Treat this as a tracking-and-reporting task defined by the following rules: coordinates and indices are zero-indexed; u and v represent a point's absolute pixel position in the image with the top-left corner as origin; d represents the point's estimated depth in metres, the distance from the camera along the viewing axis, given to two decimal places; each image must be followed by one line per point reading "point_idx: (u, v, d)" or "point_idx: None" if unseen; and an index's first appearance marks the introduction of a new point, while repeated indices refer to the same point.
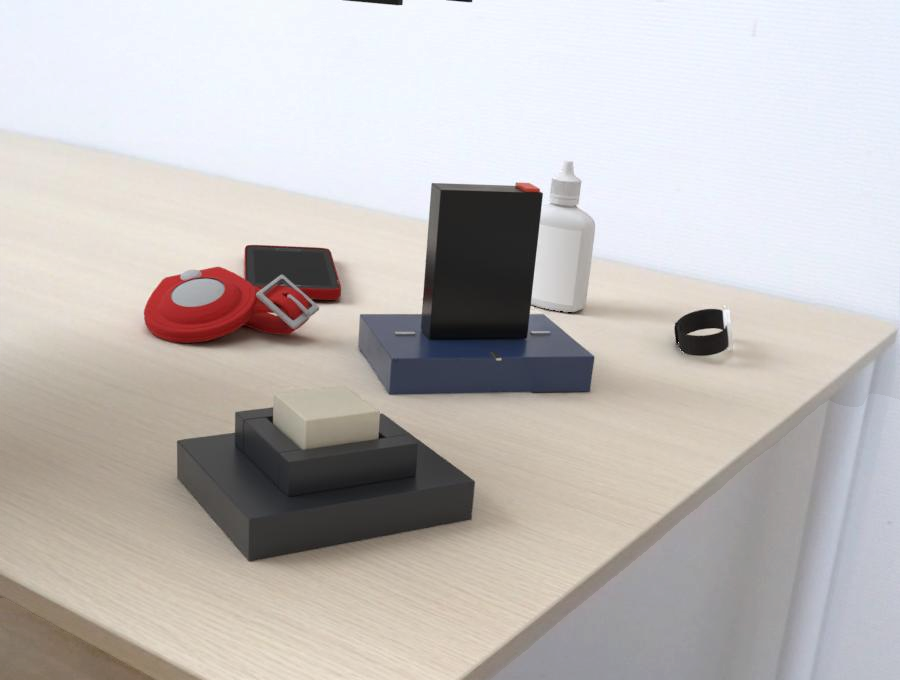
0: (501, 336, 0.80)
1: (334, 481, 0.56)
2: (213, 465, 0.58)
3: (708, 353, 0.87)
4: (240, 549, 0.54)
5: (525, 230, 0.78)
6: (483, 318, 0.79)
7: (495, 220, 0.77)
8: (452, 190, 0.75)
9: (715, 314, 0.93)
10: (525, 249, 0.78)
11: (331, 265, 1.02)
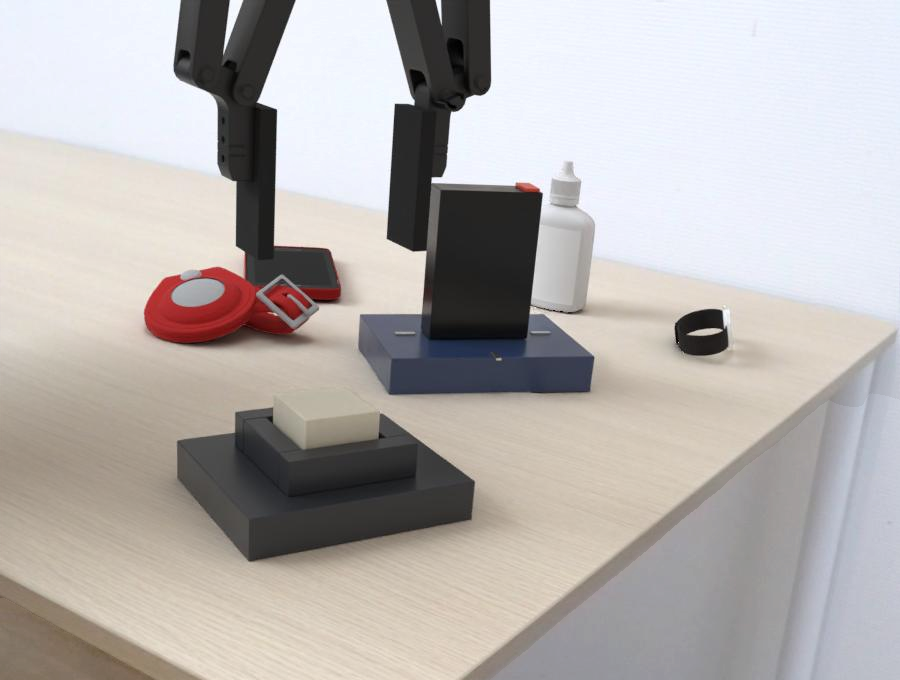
0: (501, 336, 0.80)
1: (334, 481, 0.56)
2: (213, 465, 0.58)
3: (708, 353, 0.87)
4: (240, 549, 0.54)
5: (525, 230, 0.78)
6: (483, 318, 0.79)
7: (495, 220, 0.77)
8: (452, 190, 0.75)
9: (715, 314, 0.93)
10: (525, 249, 0.78)
11: (331, 265, 1.02)
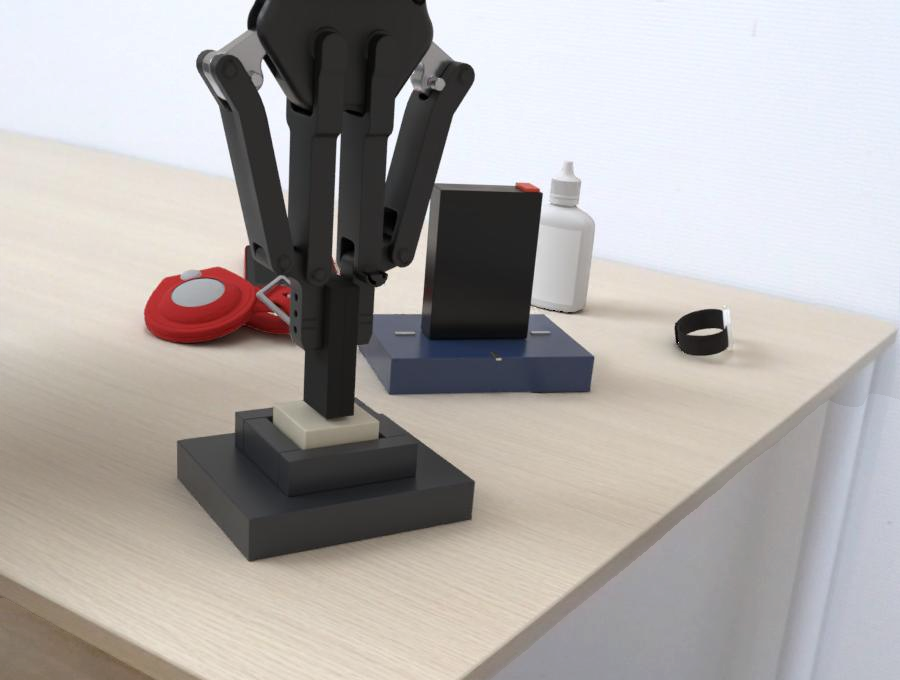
0: (501, 336, 0.80)
1: (334, 481, 0.56)
2: (213, 465, 0.58)
3: (708, 353, 0.87)
4: (240, 549, 0.54)
5: (525, 230, 0.78)
6: (483, 318, 0.79)
7: (495, 220, 0.77)
8: (452, 190, 0.75)
9: (715, 314, 0.93)
10: (525, 249, 0.78)
11: None
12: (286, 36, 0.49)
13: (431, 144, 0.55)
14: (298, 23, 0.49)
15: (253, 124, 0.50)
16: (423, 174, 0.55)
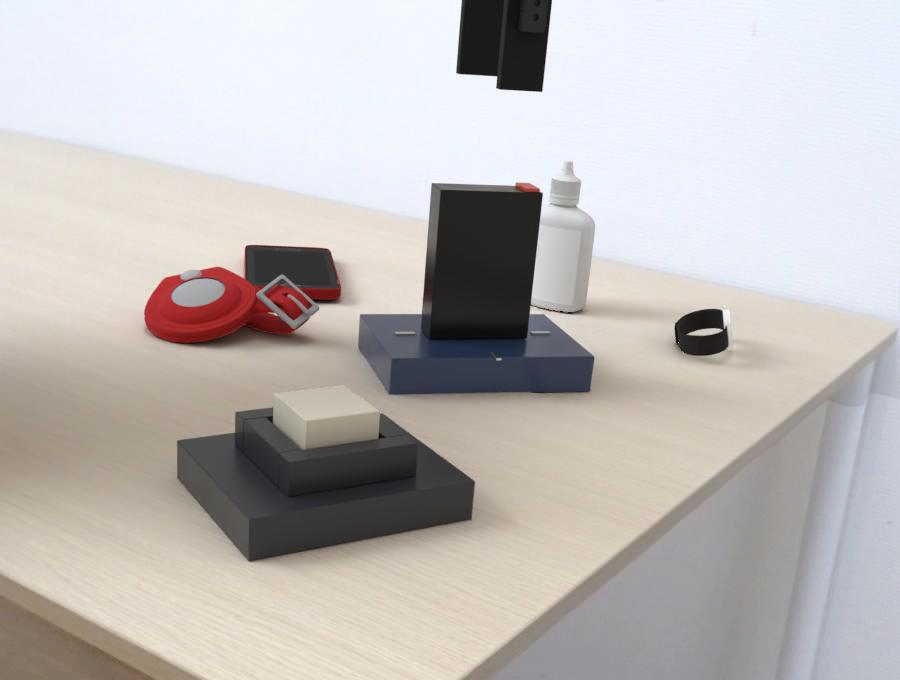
0: (501, 336, 0.80)
1: (334, 481, 0.56)
2: (213, 465, 0.58)
3: (708, 353, 0.87)
4: (240, 549, 0.54)
5: (525, 230, 0.78)
6: (483, 318, 0.79)
7: (495, 220, 0.77)
8: (452, 190, 0.75)
9: (715, 314, 0.93)
10: (525, 249, 0.78)
11: (331, 265, 1.02)
12: None
13: None
14: None
15: None
16: None
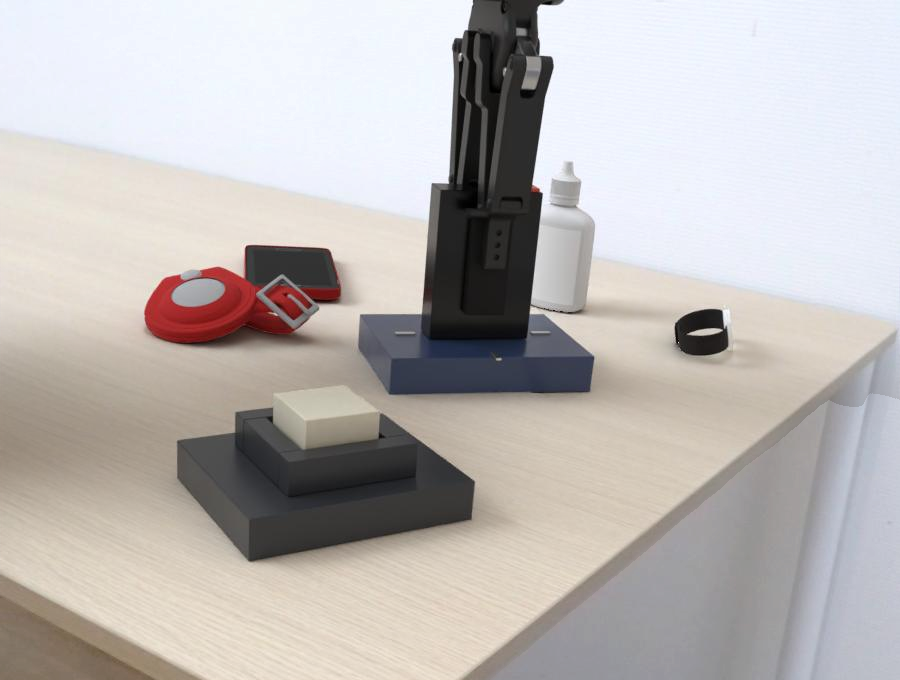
0: (501, 336, 0.80)
1: (334, 481, 0.56)
2: (213, 465, 0.58)
3: (708, 353, 0.87)
4: (240, 549, 0.54)
5: (525, 230, 0.78)
6: (483, 318, 0.79)
7: None
8: (452, 190, 0.75)
9: (715, 314, 0.93)
10: (525, 249, 0.78)
11: (331, 265, 1.02)
12: None
13: None
14: None
15: None
16: None
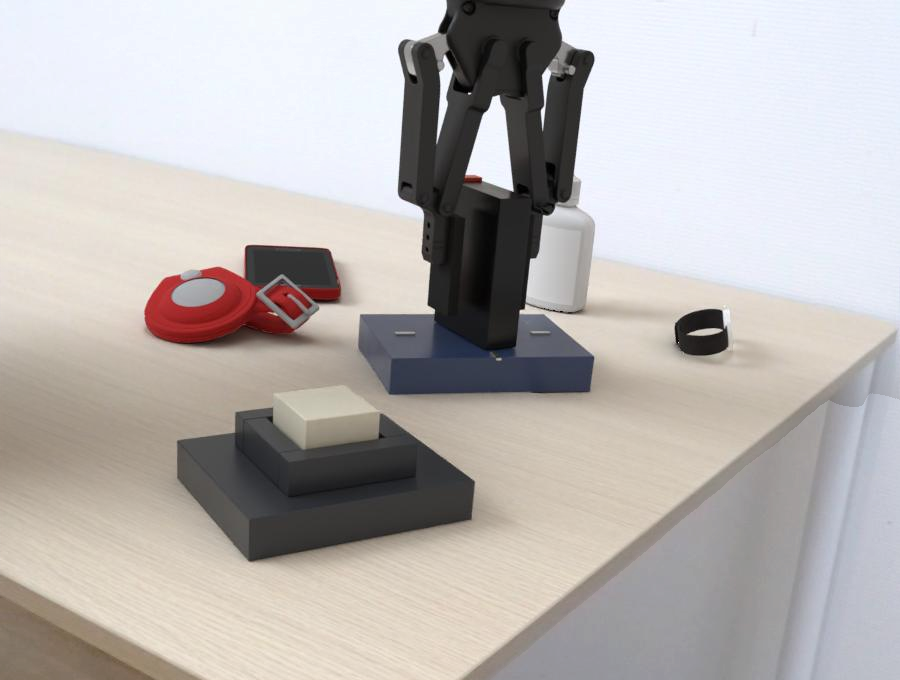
0: None
1: (334, 481, 0.56)
2: (213, 465, 0.58)
3: (708, 353, 0.87)
4: (240, 549, 0.54)
5: None
6: None
7: None
8: (524, 196, 0.76)
9: (715, 314, 0.93)
10: None
11: (331, 265, 1.02)
12: None
13: None
14: None
15: None
16: None
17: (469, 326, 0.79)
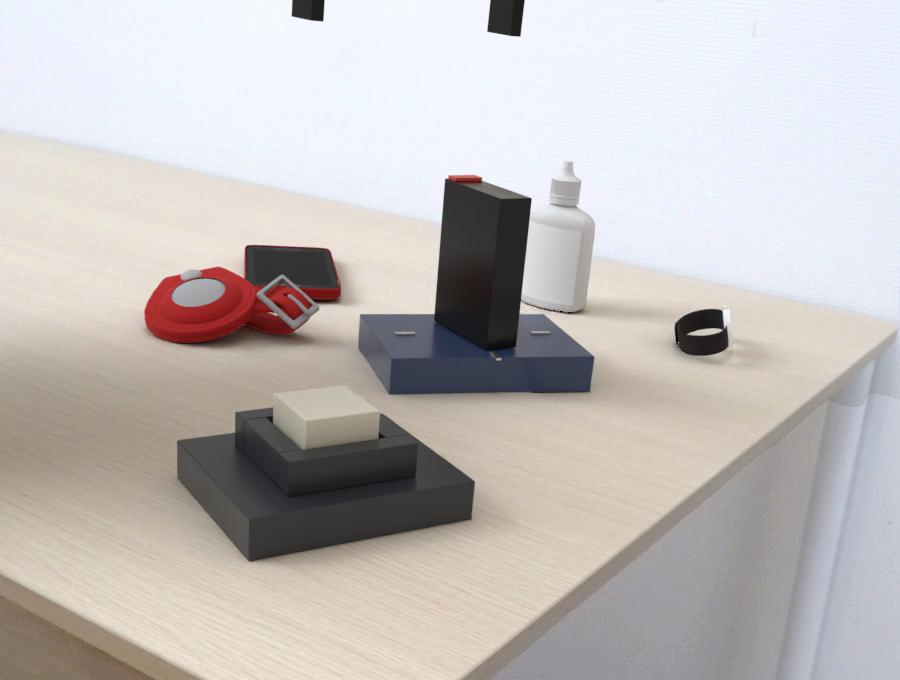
0: None
1: (334, 481, 0.56)
2: (213, 465, 0.58)
3: (708, 353, 0.87)
4: (240, 549, 0.54)
5: None
6: None
7: None
8: (524, 196, 0.76)
9: (715, 314, 0.93)
10: None
11: (331, 265, 1.02)
12: None
13: None
14: None
15: None
16: None
17: (469, 326, 0.79)
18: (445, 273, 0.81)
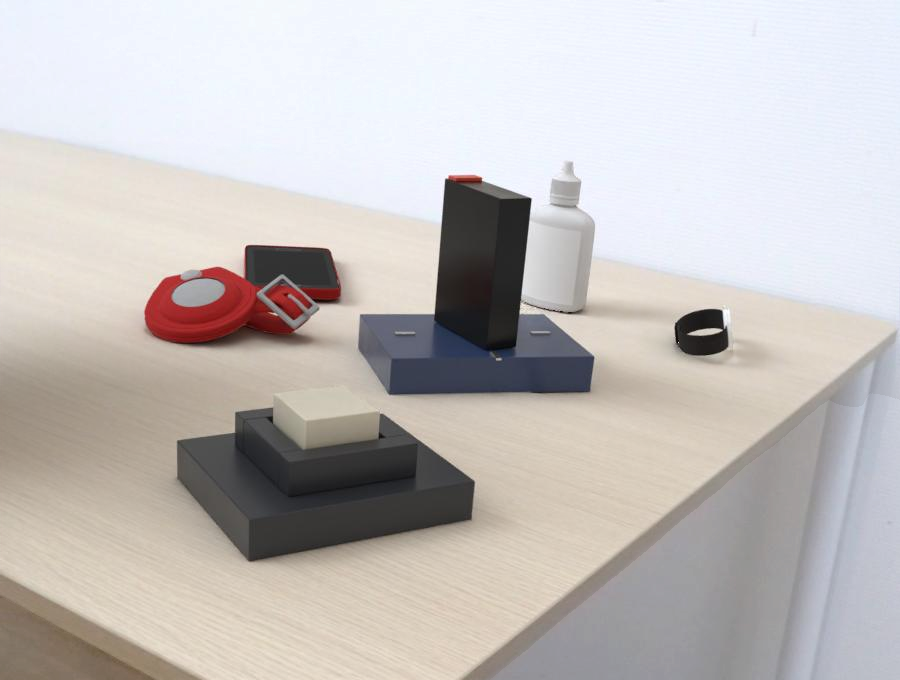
0: None
1: (334, 481, 0.56)
2: (213, 465, 0.58)
3: (708, 353, 0.87)
4: (240, 549, 0.54)
5: None
6: None
7: None
8: (524, 196, 0.76)
9: (715, 314, 0.93)
10: None
11: (331, 265, 1.02)
12: None
13: None
14: None
15: None
16: None
17: (469, 326, 0.79)
18: (445, 273, 0.81)
